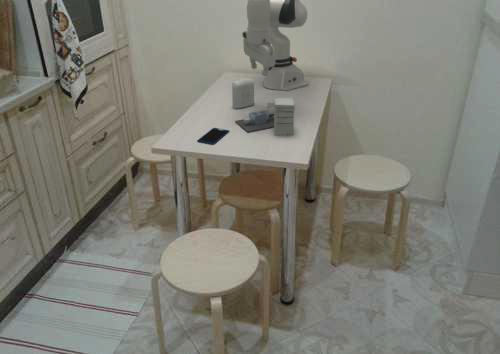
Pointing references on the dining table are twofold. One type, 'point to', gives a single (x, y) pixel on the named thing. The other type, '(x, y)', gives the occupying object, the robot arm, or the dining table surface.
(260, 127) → the rubber mat
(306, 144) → the dining table surface
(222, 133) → the cell phone
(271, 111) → the white connector
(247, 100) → the photo printer
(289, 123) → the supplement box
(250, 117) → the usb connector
